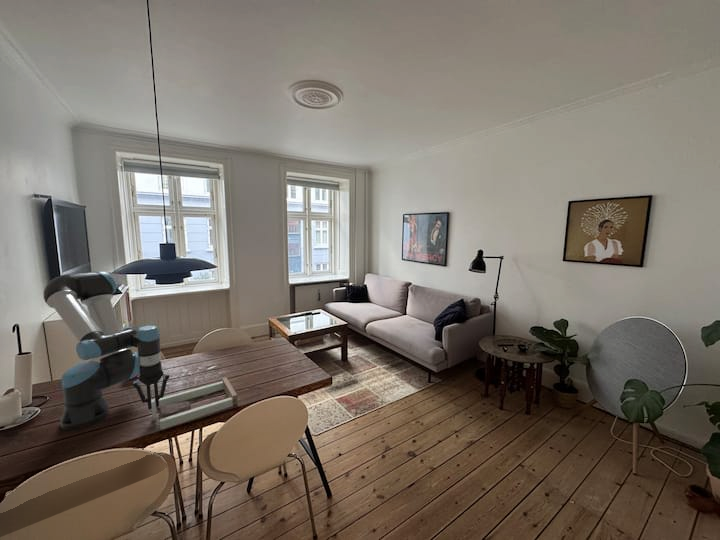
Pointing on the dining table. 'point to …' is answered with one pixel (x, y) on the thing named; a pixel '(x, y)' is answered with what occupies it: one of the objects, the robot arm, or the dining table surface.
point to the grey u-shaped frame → (200, 410)
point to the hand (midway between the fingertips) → (154, 414)
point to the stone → (174, 409)
